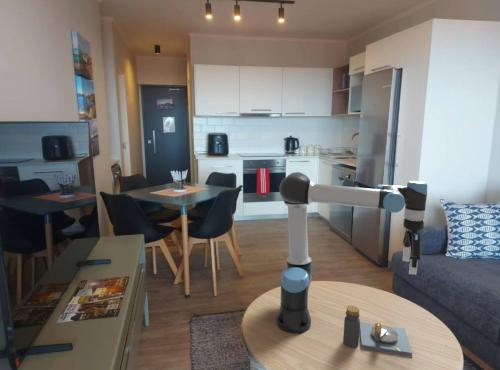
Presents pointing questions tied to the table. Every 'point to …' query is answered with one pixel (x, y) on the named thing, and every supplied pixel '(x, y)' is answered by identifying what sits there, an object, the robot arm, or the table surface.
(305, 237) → the robot arm
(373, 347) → the board
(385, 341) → the dial
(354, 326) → the bottle
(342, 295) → the table surface
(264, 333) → the table surface
